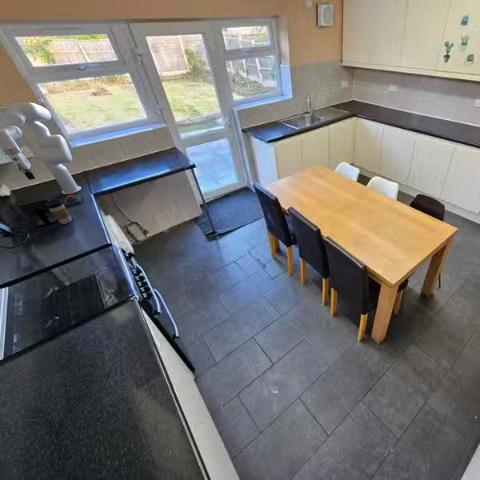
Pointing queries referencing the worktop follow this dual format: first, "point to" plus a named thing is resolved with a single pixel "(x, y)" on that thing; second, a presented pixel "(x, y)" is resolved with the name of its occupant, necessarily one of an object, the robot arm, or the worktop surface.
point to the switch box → (73, 201)
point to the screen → (34, 206)
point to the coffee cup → (59, 211)
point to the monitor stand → (45, 218)
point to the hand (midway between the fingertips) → (32, 178)
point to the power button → (70, 196)
